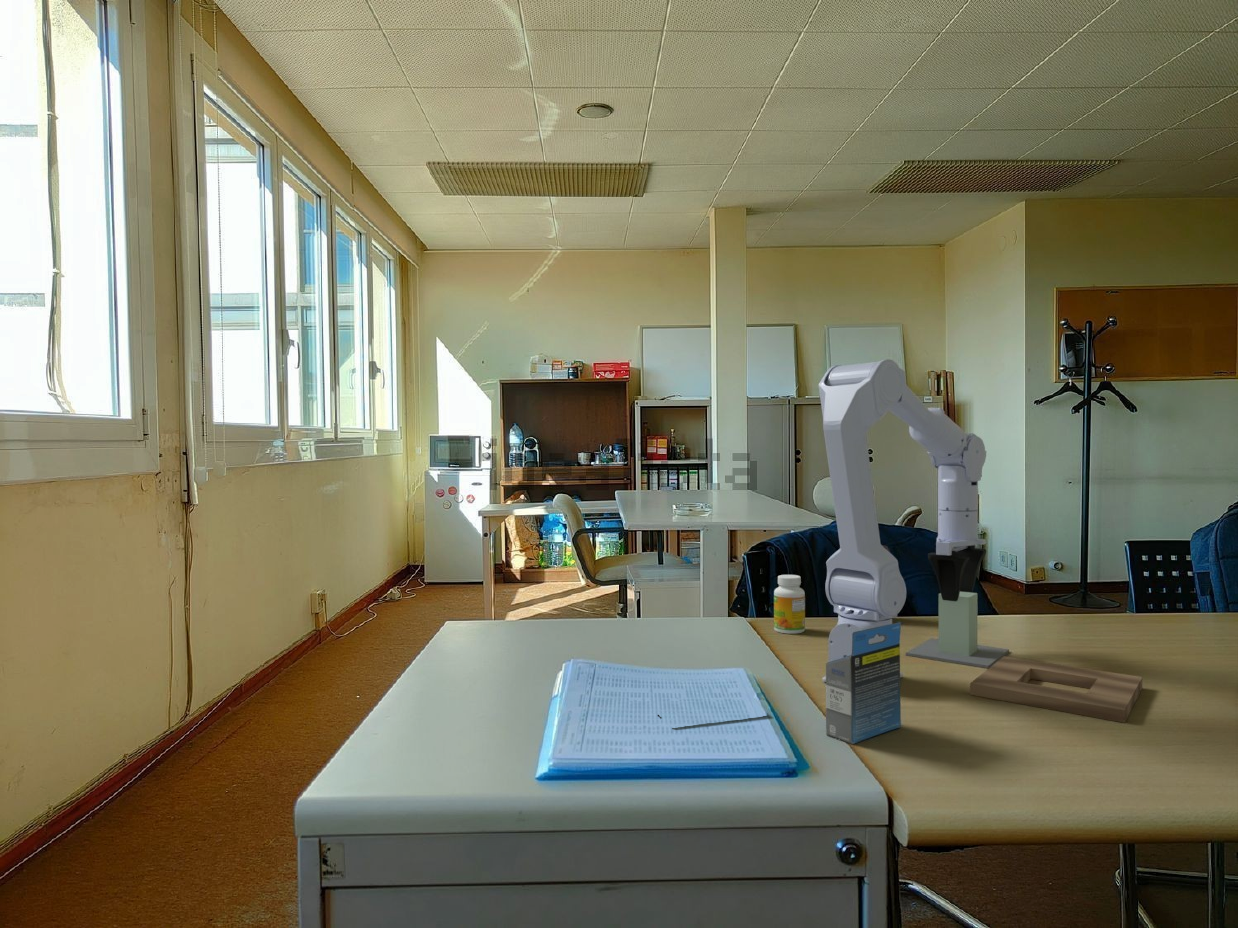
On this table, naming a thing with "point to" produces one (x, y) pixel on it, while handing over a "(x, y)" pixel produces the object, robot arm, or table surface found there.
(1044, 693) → the collar
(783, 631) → the supplement bottle
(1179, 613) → the table surface
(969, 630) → the peg
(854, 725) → the label tape cartridge
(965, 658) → the pad
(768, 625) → the table surface
